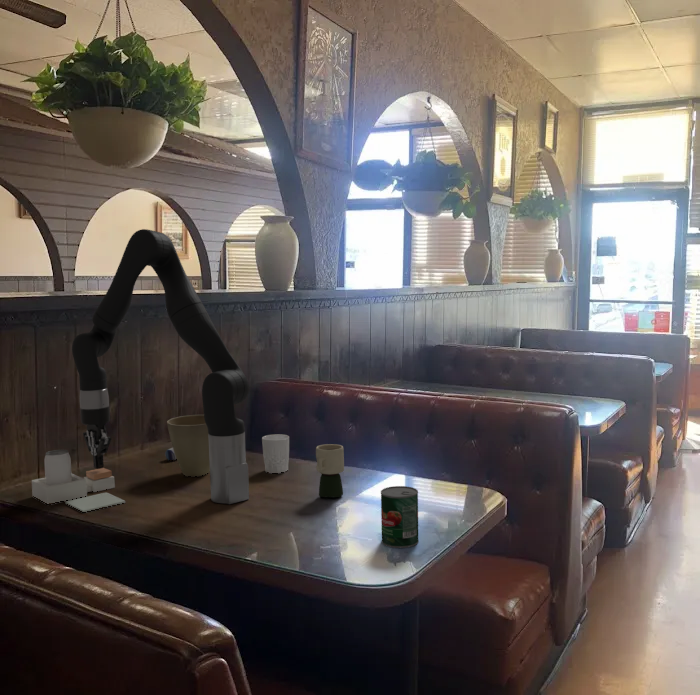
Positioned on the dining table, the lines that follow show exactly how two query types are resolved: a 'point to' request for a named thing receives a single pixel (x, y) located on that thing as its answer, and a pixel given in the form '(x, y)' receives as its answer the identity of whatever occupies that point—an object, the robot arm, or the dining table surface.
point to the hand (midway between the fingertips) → (98, 468)
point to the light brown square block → (98, 473)
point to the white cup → (276, 453)
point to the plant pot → (190, 444)
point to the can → (57, 467)
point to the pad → (95, 502)
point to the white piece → (69, 488)
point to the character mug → (330, 469)
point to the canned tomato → (399, 516)
